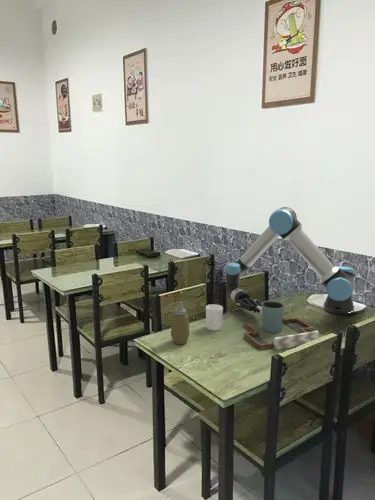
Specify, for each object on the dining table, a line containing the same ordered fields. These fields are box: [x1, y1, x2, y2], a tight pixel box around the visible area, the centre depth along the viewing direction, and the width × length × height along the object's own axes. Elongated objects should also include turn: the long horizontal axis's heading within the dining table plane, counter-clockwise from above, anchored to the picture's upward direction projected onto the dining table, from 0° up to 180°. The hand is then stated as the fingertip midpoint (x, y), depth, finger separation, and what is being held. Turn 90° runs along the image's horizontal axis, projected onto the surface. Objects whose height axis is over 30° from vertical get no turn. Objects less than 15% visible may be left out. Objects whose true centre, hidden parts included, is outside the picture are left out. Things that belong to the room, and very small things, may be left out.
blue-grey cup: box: [261, 300, 285, 334], centre depth 191 cm, size 10×10×12 cm
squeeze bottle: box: [170, 300, 191, 345], centre depth 175 cm, size 8×8×18 cm
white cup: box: [205, 303, 224, 331], centre depth 192 cm, size 8×8×10 cm
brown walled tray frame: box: [242, 316, 320, 351], centre depth 186 cm, size 33×26×5 cm
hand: (264, 313), depth 195 cm, fingers closed
